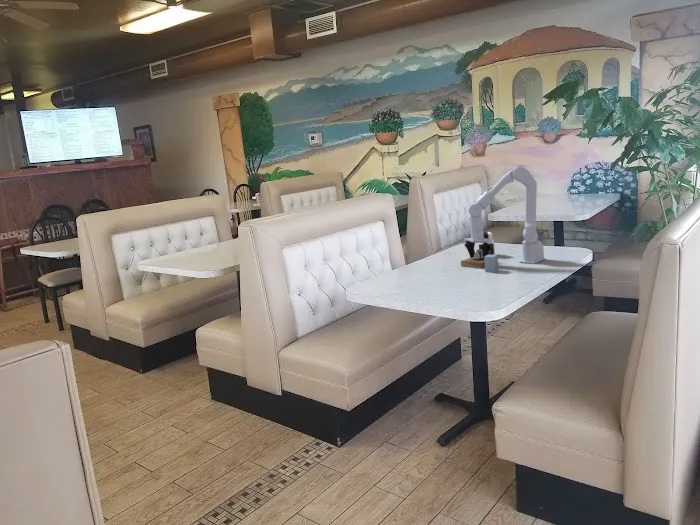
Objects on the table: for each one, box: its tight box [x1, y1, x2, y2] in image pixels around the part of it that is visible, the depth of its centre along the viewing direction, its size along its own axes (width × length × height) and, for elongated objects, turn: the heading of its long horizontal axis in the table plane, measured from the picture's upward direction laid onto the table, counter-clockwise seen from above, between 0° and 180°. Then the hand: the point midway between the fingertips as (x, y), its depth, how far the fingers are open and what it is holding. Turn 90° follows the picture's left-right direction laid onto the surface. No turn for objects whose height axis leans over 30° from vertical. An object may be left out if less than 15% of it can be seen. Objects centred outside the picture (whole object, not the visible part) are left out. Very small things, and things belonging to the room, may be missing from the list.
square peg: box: [484, 254, 499, 273], centre depth 249 cm, size 4×4×7 cm
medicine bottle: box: [478, 231, 496, 256], centre depth 280 cm, size 7×7×12 cm
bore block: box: [460, 255, 485, 269], centre depth 264 cm, size 12×12×3 cm
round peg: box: [474, 248, 483, 261], centre depth 264 cm, size 4×4×7 cm
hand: (478, 258), depth 264 cm, fingers open, 7 cm apart
